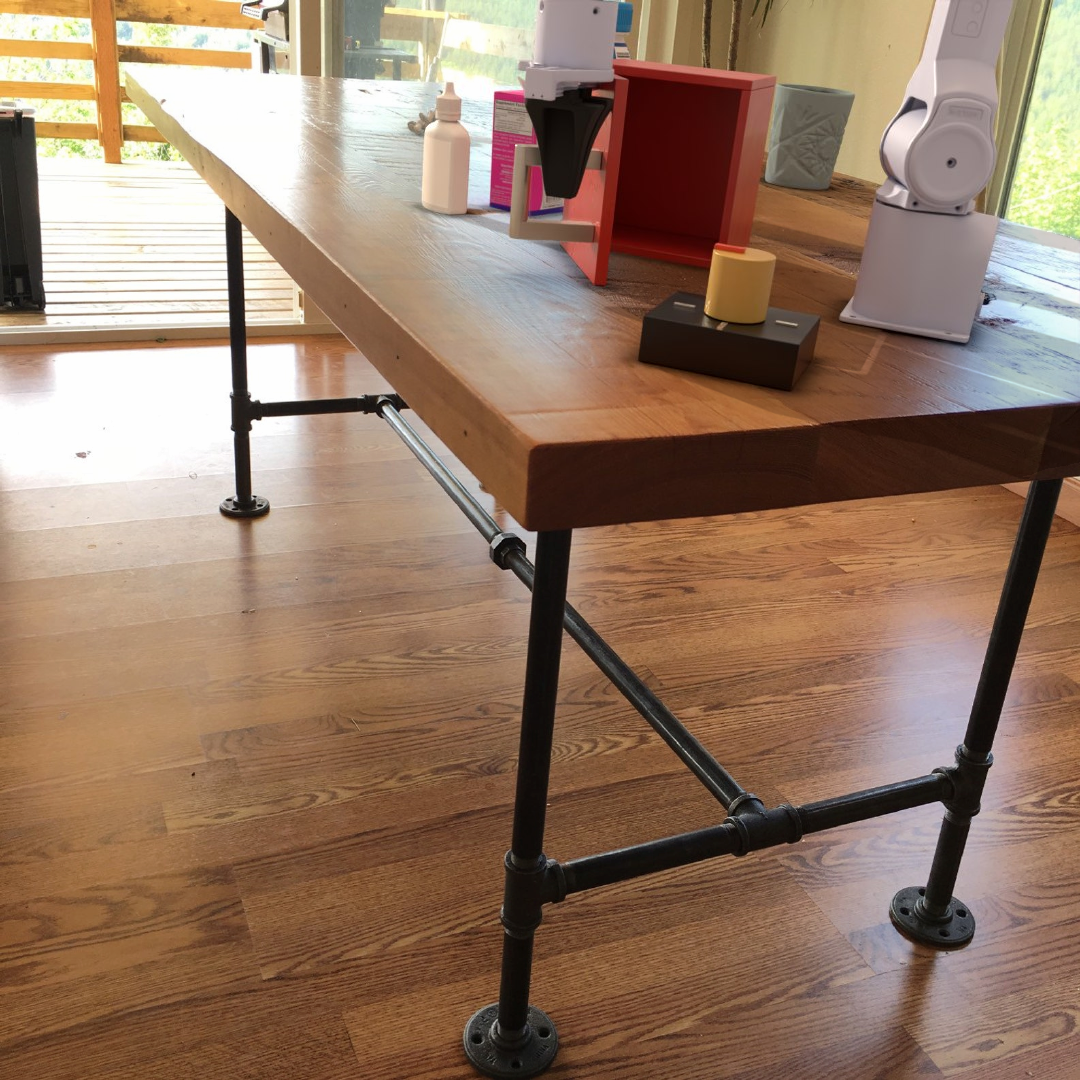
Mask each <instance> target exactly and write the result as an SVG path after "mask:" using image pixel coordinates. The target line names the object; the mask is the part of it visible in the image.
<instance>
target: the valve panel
mask: <svg viewBox="0 0 1080 1080" xmlns="http://www.w3.org/2000/svg"><path fill="white" fill-rule="evenodd" d="M705 302H706V295H704V294H698V293H692V292H686V291H681V290H677V291H675V292H674V293H673V294H671V295H670V296H668V297H667V298H665V299H664V300H663V301H662V302H660V303H659V304H658V305H656V306H655V307H654V308H652V309H651V310H649V311H648V312H646V314H644V315H643V317H642V325H641V333H640V341H639V348H638V357H637V361H638V362H644V363H647V364H653V365H657V366H662V367H668V368H673V369H678V370H683V371H689V372H693V373H697V374H703V375H707V376H708V375H709V376H713V377H718V378H723V379H727V380H731V381H732V380H733V381H737V382H742V383H747V384H748V383H749V384H752V385H758V386H761V387H768V388H773V389H776V390H777V389H778V390H783V391H788V392H791V391H792V390H793V388H794V387H795V385H796V384H797V382H798V381H799V379H800V378H801V377H802V375H803V373H804V372H805V371H806V369H807V368H808V366H809V365H810V363H811V362H812V361H813V359H814V355H815V349H816V345H817V344H816V343H817V339H818V335H819V330H820V324H821V320H822V316H821V315H816V314H810V313H805V312H800V311H794V310H788V309H783V308H778V307H777V308H776V307H771V306H768V308H767V314H766V319H765V320H764V321H762V322H759V323H734V322H728V321H723V320H719V319H716V318H713V317H711V316H709V315H707V314H706V313H705V312H704V308H705Z"/></svg>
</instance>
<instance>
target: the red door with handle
mask: <svg viewBox="0 0 1080 1080" xmlns="http://www.w3.org/2000/svg"><path fill="white" fill-rule="evenodd" d="M628 83H629V80H628V79H625V78H623V77H620V76H618V75H615V74H614V79H613V81H612V82H601V84H600V90H595V91H592V96H598V97H606V98H611V99H613V107H612V109H611V111H610V113H609V114H608V116H607V118H606V119H605V121H604V123H603V125H602V126H601V128H600V130H599V132H598V135H597V137H596V139H595V141H594V144H593V147H592V149H591V152H590V156H589V159H588V162H587V165H586V169H585V172H584V176H583V179H582V182H581V185H580V188H579V191H578V194H577V196H576V197H575V198H572V199H564V206H563V212H562V216H561V219H545V218H543V219H542V218H529V216H528V211H529V198H530V186H531V173H532V166H541V160H540V153H539V147H538V145H532V144H516V145H515V156H514V171H513V185H512V199H511V212H510V216H509V229H508V238H510V239H514V240H522V241H523V240H524V241H546V242H559V245H560V247H561V248H563V250H564V251H565V252H566V253H567V255H568V256H569V257H570V258H571V259H572V261H573V262H574V263H575V265H577V266H578V268H579V269H580V270H581V272H583V274H584V275H585V276H586V277H587V278H588V279H589V281H590V282H591V283H592V284H593V286H602V287H603V286H607V282H608V281H607V280H608V271H609V261H610V253H611V251H610V245H611V236H612V227H613V218H614V209H615V200H616V191H617V182H618V173H619V164H620V155H621V146H622V137H623V128H624V119H625V110H626V101H627V92H628ZM578 84H580V82H578Z"/></svg>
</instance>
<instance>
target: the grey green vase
mask: <svg viewBox="0 0 1080 1080" xmlns="http://www.w3.org/2000/svg"><path fill="white" fill-rule="evenodd" d="M855 97H856V93H854V92H851V91H846V90H843V89H839V88H838V89H837V88H831V87H825V86H816V85H807V84H795V83H776V85H775V92H774V101H773V112H772V122H771V128H770V131H769V132H770V133H769V141H768V151H767V158H766V167H765V175H764V179H765V182H767V183H769V184H772V185H775V186H780V187H784V188H791V189H800V190H814V191H815V190H816V191H819V190H820V191H822V190H827V189H829V188H830V185H831V181H832V178H833V175H834V171H835V166H836V164H837V160H838V157H839V154H840V150H841V145H842V143H843V139H844V135H845V133H846V129H845V128H846V127H847V124H848V121H849V117H850V115H851V111H852V108H853V106H854V105H853V104H854V101H855Z"/></svg>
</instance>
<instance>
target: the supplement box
mask: <svg viewBox="0 0 1080 1080" xmlns="http://www.w3.org/2000/svg"><path fill="white" fill-rule="evenodd" d="M492 107H493V108H492V109H493V110H492V111H493V112H492V128H491V129H492V135H491V137H492V138H491V161H490V180H489V181H490V182H489V183H490V184H489V204H488V205H489V207H490V208H494V209H498V210H502V211H506V212H510V213H511V199H512V185H513V171H514V156H515V145H516V144H532V145H538V142H537V138H536V134H535V131H534V127H533V124H532V122H531V119H530V117H529V114H528V112H527V110H526V108H525V98H524V90H523V89H521V90H520V89H515V90H513V89H511V90H495V91H493V106H492ZM563 206H564V198H558V197H551V196H546V194H545V190H544V184H543V177H542V168H541V166H532V173H531V186H530V198H529V211H528V217H536V216H543V215H550V214H555V213H556V214H557V213H563Z"/></svg>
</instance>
